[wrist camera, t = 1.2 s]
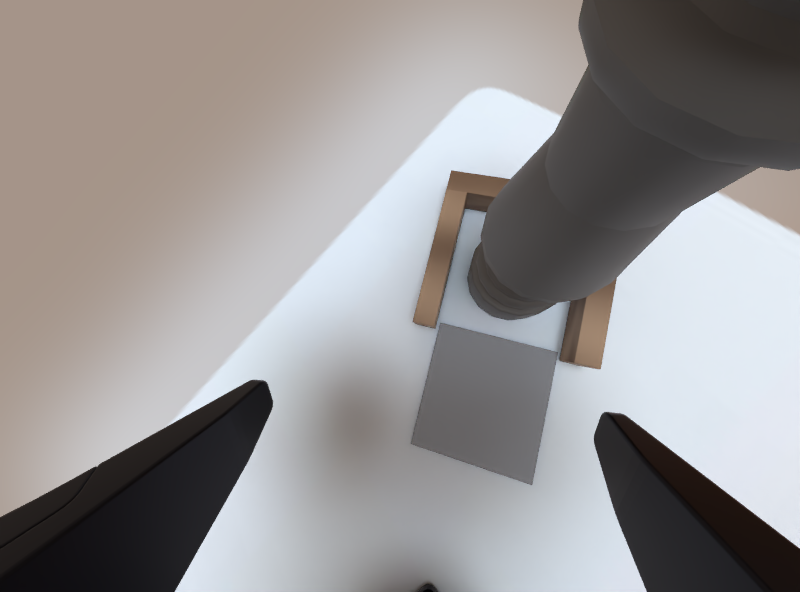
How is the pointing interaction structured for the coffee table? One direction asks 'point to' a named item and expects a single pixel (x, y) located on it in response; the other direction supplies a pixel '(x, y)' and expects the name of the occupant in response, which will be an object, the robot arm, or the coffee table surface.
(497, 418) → the mat
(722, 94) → the candle holder
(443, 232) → the wooden u-shaped frame
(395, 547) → the coffee table surface
